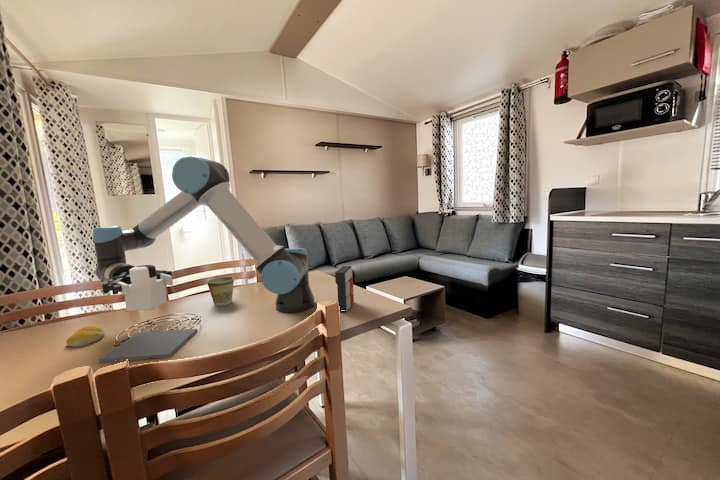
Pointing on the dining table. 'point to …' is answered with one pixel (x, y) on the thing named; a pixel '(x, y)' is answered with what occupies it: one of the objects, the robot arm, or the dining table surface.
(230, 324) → the dining table surface
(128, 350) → the mat
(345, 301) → the dark grey box
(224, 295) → the ceramic cup
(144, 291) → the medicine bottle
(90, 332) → the yellow seashell
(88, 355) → the dining table surface
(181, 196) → the robot arm
